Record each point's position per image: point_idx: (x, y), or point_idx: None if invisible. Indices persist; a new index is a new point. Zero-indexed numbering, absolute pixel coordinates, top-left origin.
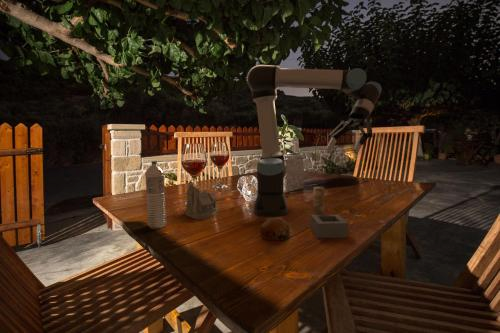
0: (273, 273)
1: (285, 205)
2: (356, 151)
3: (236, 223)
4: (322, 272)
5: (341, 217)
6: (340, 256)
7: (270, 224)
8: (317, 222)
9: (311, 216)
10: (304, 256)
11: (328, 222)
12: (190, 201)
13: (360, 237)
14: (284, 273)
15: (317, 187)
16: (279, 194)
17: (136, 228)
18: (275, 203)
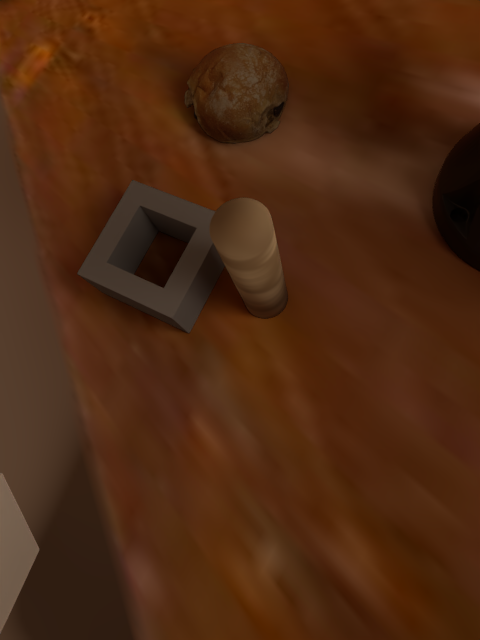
0: (64, 29)
1: (471, 231)
2: (23, 533)
3: (415, 36)
4: (10, 110)
5: (135, 300)
6: (33, 187)
7: (216, 49)
8: (142, 184)
9: None
10: (83, 114)
11: (121, 218)
12: None
13: (80, 331)
14: (51, 46)
15: (256, 227)
16: None
17: None
18: (461, 158)
